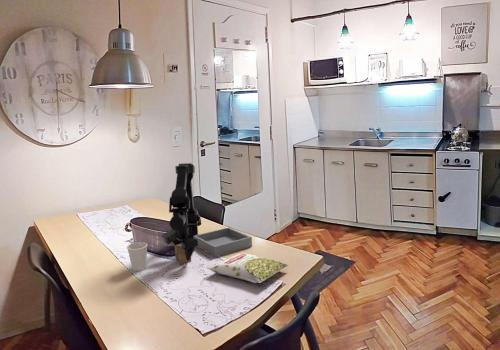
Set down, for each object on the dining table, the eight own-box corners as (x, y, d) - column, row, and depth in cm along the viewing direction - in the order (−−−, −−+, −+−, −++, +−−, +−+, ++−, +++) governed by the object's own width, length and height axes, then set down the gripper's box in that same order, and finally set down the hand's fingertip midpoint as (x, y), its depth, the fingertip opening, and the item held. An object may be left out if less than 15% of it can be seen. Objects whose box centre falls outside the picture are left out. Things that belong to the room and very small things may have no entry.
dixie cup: (138, 273, 169) (136, 250, 167) (124, 269, 173) (122, 247, 172) (153, 266, 176) (151, 243, 174) (139, 262, 180) (137, 240, 179)
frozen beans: (260, 275, 149) (206, 261, 163) (260, 290, 150) (207, 275, 164) (288, 258, 166) (238, 247, 180) (288, 272, 167) (238, 260, 181)
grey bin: (193, 244, 200) (193, 235, 199) (229, 235, 212) (228, 227, 211) (215, 256, 184) (214, 247, 183) (252, 246, 195) (251, 237, 195)
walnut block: (175, 260, 181) (174, 245, 180) (186, 257, 184) (185, 242, 183) (180, 264, 177) (179, 248, 176) (191, 261, 180) (190, 245, 179)
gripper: (154, 221, 181) (157, 255, 184) (172, 232, 166) (175, 269, 169) (177, 216, 187) (180, 249, 190) (197, 226, 172) (200, 262, 175)
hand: (183, 257), depth 181 cm, fingers open, 9 cm apart
